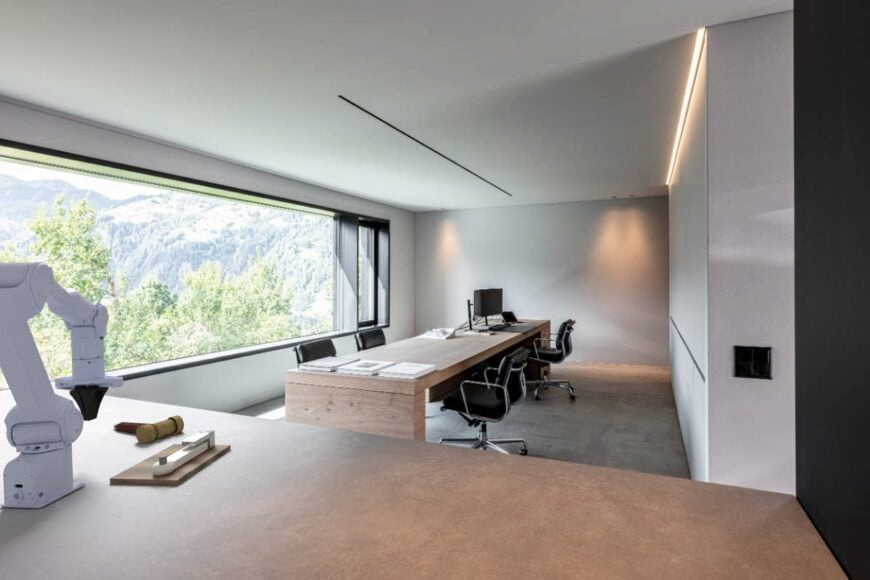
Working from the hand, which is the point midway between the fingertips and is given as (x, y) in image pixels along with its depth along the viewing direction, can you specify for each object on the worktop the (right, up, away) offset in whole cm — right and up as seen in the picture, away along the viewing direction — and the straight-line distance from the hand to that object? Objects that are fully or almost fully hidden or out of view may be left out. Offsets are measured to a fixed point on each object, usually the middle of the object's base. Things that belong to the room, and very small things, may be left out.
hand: (90, 419), depth 101 cm
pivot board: (+20, -9, -2) cm, 22 cm away
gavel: (-2, -10, +20) cm, 22 cm away
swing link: (+22, -8, -4) cm, 24 cm away
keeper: (+22, -8, +3) cm, 24 cm away
